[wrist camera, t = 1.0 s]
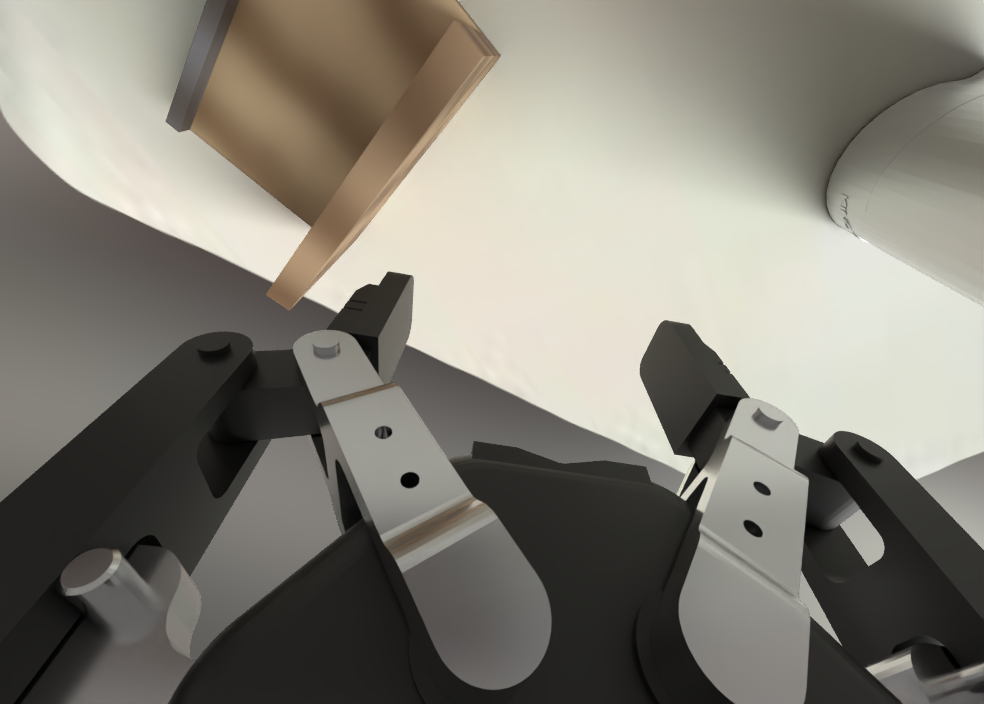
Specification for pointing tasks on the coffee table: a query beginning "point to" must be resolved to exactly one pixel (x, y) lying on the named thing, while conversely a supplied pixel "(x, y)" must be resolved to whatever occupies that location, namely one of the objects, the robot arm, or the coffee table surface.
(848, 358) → the coffee table surface
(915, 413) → the coffee table surface
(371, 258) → the coffee table surface
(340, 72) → the brown wooden angled piece
